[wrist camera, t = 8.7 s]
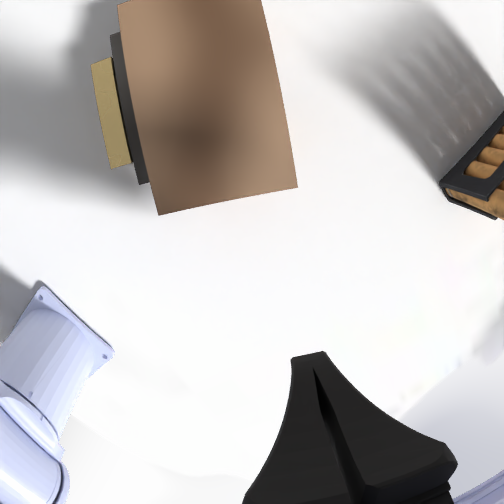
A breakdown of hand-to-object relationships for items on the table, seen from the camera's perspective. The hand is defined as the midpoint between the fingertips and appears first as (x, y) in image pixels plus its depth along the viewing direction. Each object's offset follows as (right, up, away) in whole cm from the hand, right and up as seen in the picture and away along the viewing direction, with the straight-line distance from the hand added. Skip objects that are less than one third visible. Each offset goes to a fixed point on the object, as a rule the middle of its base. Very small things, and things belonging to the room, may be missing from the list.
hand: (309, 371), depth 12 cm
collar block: (-5, +14, +4) cm, 15 cm away
